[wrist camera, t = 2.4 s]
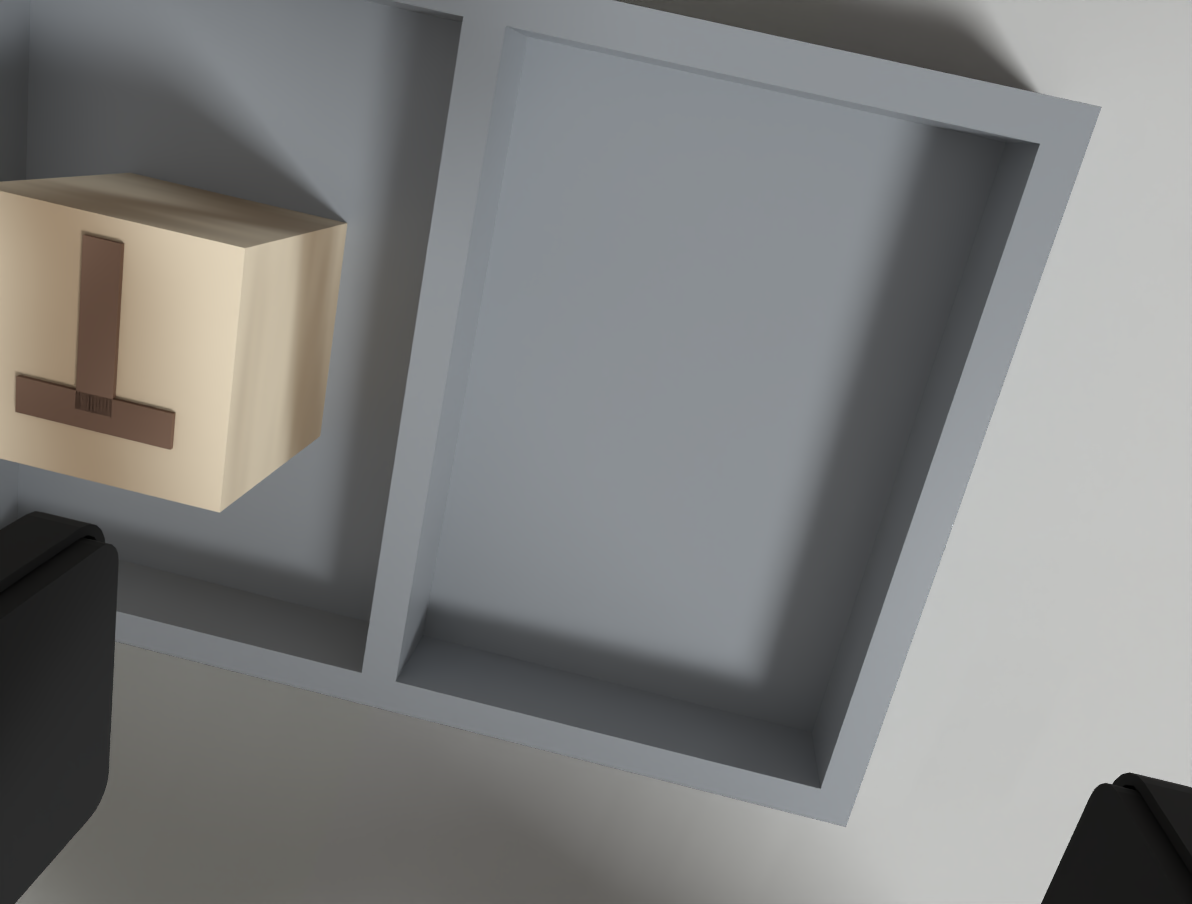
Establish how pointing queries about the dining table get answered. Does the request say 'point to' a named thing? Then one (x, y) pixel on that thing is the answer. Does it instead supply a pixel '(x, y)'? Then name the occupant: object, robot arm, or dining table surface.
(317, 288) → the letter block
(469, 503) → the tray
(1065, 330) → the dining table surface
